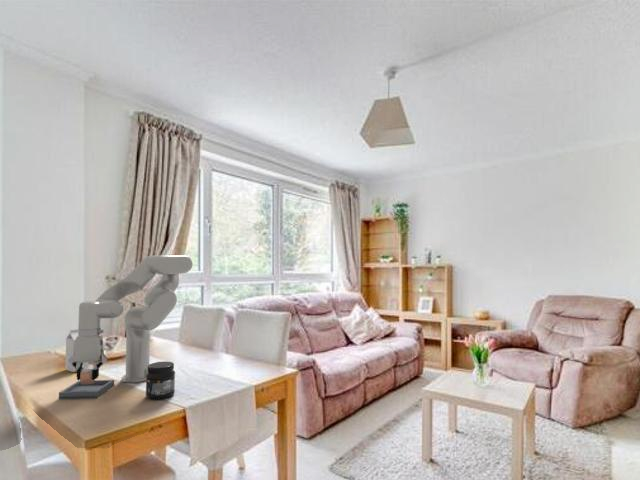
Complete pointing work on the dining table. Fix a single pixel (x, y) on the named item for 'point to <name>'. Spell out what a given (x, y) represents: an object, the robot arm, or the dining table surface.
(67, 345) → the milk carton
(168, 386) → the supplement container
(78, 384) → the tray
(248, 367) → the dining table surface
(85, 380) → the salt shaker
